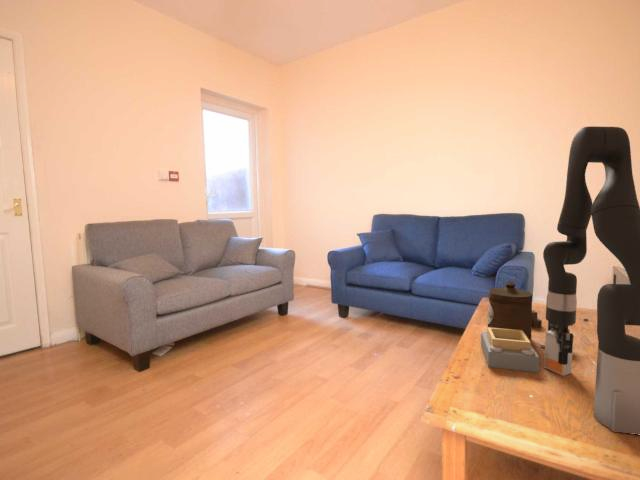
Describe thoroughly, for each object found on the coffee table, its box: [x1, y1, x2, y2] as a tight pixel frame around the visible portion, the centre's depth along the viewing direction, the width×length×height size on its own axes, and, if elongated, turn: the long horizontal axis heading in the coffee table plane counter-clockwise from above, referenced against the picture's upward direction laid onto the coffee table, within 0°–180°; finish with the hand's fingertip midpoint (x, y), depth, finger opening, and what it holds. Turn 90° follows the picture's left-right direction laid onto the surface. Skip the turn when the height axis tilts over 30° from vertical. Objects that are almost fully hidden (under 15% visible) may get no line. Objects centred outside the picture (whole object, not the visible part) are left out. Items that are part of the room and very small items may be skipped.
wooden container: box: [487, 280, 533, 343], centre depth 132 cm, size 15×15×22 cm
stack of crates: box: [532, 309, 543, 328], centre depth 146 cm, size 15×15×7 cm
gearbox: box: [480, 326, 540, 373], centre depth 116 cm, size 18×14×8 cm
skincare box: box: [543, 330, 575, 377], centre depth 106 cm, size 6×4×12 cm
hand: (558, 358), depth 106 cm, fingers closed on skincare box, 7 cm apart
